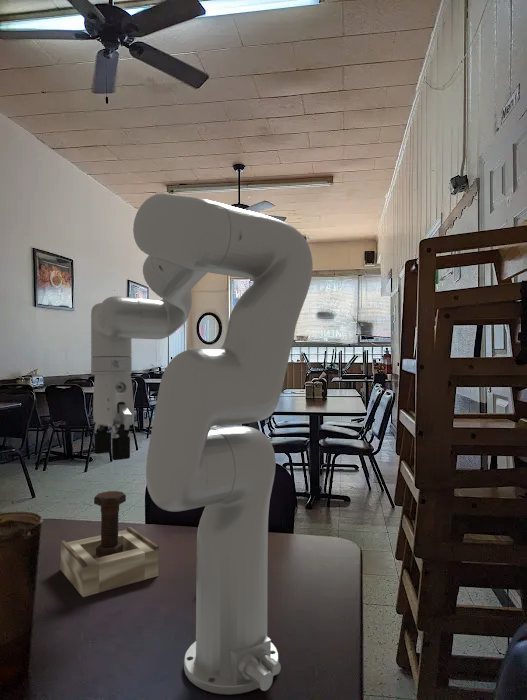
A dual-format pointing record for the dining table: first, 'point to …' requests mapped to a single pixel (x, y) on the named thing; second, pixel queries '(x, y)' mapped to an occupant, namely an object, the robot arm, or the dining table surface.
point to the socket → (109, 562)
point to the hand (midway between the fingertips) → (111, 455)
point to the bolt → (109, 522)
